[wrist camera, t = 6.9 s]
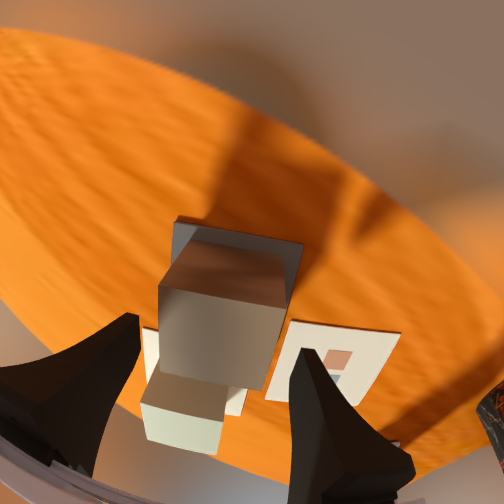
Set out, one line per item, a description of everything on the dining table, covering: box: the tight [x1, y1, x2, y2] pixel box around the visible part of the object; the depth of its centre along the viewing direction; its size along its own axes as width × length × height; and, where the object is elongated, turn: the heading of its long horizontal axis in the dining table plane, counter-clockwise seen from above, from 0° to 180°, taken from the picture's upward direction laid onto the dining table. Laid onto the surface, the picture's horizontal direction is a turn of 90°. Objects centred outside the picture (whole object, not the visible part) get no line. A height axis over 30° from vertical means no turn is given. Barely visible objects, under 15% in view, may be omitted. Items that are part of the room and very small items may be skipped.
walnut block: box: [158, 239, 287, 391], centre depth 14 cm, size 5×5×5 cm
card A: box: [265, 321, 401, 406], centre depth 19 cm, size 8×8×1 cm
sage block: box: [140, 359, 229, 455], centre depth 18 cm, size 5×5×5 cm
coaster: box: [171, 221, 304, 307], centre depth 17 cm, size 7×7×1 cm
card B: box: [142, 328, 248, 416], centre depth 20 cm, size 8×8×1 cm
